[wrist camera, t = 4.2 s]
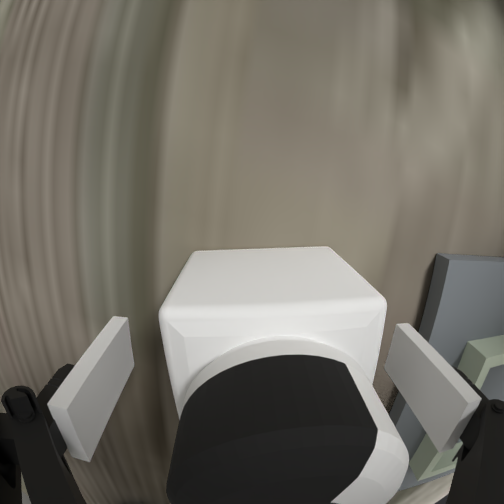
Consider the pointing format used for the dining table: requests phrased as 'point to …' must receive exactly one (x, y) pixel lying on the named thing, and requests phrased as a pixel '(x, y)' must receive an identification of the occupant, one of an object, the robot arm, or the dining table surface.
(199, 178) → the dining table surface
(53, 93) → the dining table surface
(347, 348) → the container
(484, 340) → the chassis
